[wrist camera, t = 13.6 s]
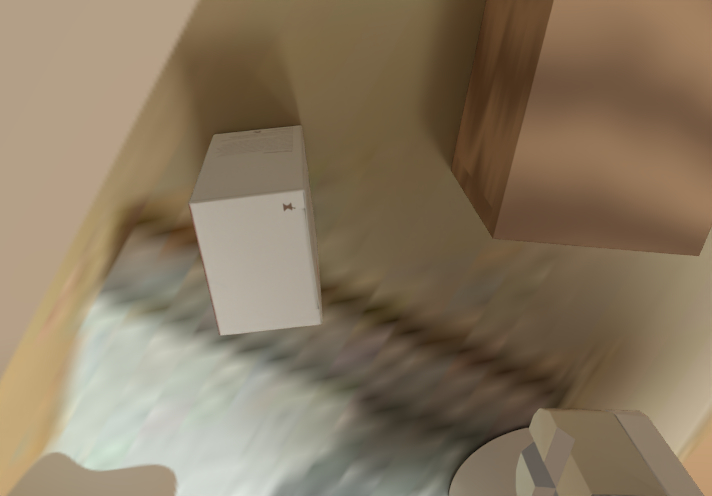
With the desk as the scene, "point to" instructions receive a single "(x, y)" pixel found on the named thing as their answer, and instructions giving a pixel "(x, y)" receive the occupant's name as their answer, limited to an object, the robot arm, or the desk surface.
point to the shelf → (591, 124)
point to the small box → (258, 231)
